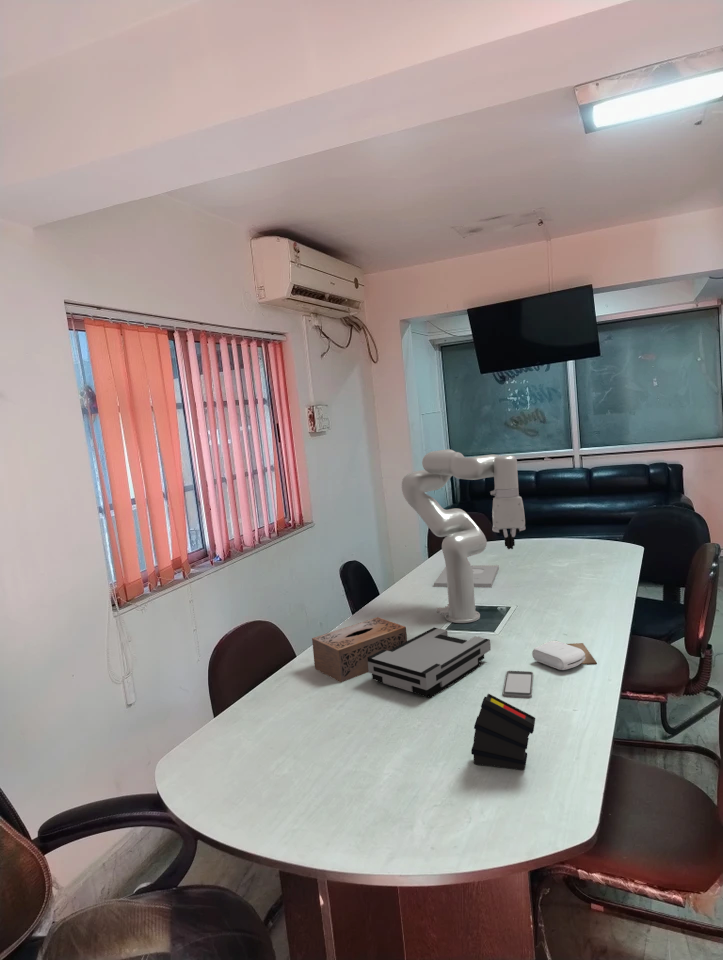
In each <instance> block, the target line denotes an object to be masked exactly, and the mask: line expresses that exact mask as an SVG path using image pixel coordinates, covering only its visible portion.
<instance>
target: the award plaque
mask: <svg viewBox="0 0 723 960" xmlns="http://www.w3.org/2000/svg"><path fill="white" fill-rule="evenodd" d="M471 566H472V570H473V581H474V588H487V589H488V588H492V587H493V585H494V582H495V580H496V577H497V574H498V572H499V571H500V567H499V565H497V564H496V565H490V564H489V565H474V564H473V565H472V564H471ZM433 587H434V588H448V587H447V574H446V566H445V567H444V568H443V570H442V571H441V572H440V574H439V575H438V576H437V578H436V580H435V581H434V583H433Z"/></svg>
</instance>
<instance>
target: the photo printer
mask: <svg viewBox="0 0 723 960" xmlns="http://www.w3.org/2000/svg"><path fill="white" fill-rule="evenodd" d="M568 644H569V643H564V642H561V641H557V640H549V641H547V642H545V643H543V644H540V645H538V646H535V647H534V648H533V649H532V653H531V654H532V658H533V660H534V661H535V662H538V663H541V664H543V665H545V666H548V667H551V668H554V669H557V670H559V671H566V670H570V669H573V668H576V667H577V666H580V665H579V664H581V663H582V662H583V661H584V660H585V653H584V651H583V650H581V649H580V648H577V647H574V646H571V645H568Z"/></svg>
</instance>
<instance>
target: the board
mask: <svg viewBox="0 0 723 960" xmlns="http://www.w3.org/2000/svg"><path fill="white" fill-rule="evenodd" d="M567 644H568V645H571V646H574V647H577V648H580V649H581V650H583V651H584V653H585V660H584V661H583V662H582V663H581V664H587V665H597V664H598V663H597V661H596V659H595V658H594V657H593V655H592V654H591V652H590V650H588V647H586V645H585V644H584V643H583V642H577V643H575V642H574V643H567ZM581 664H579V665H578V666H582V665H581Z"/></svg>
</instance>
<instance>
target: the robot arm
mask: <svg viewBox="0 0 723 960" xmlns="http://www.w3.org/2000/svg"><path fill="white" fill-rule="evenodd" d="M421 466H422V468H423V469H421V470H416V471H412V472H410V473H407V474H406V475H404V477H403V478H402V481H401V492H402V495H403V497H404V500H405V501H406V502H407V503H408V505H409V506H410V507H411V508H412V509H413V510H414V511H415V512H416V513H417V515H419V516H420V518H421V519H422V521H423V522H424V523H425V526H427V527H428V529H430V532H431V533H432V534H433V535H435V536H436V537H438V538H443V537H444V538H443V539H442V543H441V550H442V554H443V558H444V563H445V567H446V574H447V587H446V588H447V598H448V602H447V603H448V604H447V606H444V607H436V613H437V614H440V615H444V617H445V619H446V621H448V622H450V623H455V624H467V623H472V622H473V623H474V622H477V621H478V620H480V619H481V614H480V612H479V611H477V610H476V602H475V601H476V600H475V599H476V597H475V587H474V581H473V570H472V566H471V565H472V564H471V563H470V561H469V559H468V558H469V557H472V556H475V555H479V554H481V553H483V552H484V551H485V550H486V548H487V545H488V541H487V538H486V535H485V534H484V532H483V531H482V530H481V528H480V526H478V525H477V523H476V522H475V521H474V520H473V519H472V518H471V516H470V515H469V514H468V513H467V512H466V511H465V510H463V509H461V508H449V509H445V508H443V506H441V504H440V503H439V502H438V500H436V499H435V498H434V497H432V496H431V495H429V494H427V493H428V492H429V493H430V492H432V491H433V492H434V491H437V490H440V489H442V488H443V487H444V486H445V485H446V484H447V483H448V481H449V480H450V479H451V478H452V477H454V478H455V479H459V480H470V481H473V480H474V481H476V480H482V479H486V478H493V479H494V481H493V482H494V483H493V484H494V489H493V490H491V491H490V495H491V496H494V497H493V498H492V499H493V500H492V506H491V507H492V508H491V509H492V511H491V513H492V514H491V515H492V516H491V518H492V532H494V533H499V534H501V535H502V536H503V537H504V547H506V549H507V550H514V547H515V545H516V544H515V542H516V541H515V537H516V535H517V534H519V533H520V532H522V531H525V530H526V517H525V509H524V507H525V506H524V501H523V498H522V496H520V494H519V493H520V492H519V475H518V460H517V457H516V456H515V455H509V454H508V455H499V454H493V453H492V454H485V455H479V456H473V457H470V456H469V457H468V456H467V457H465V456H464V455H463V453H461V452H460V451H455V450H453V449H450V448H447V449H441V450H433V451H430V452H428V453H426V454H425V455H424V456H423V457H422V461H421ZM507 529H508V530H510V533H509V534H508V530H507Z"/></svg>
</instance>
